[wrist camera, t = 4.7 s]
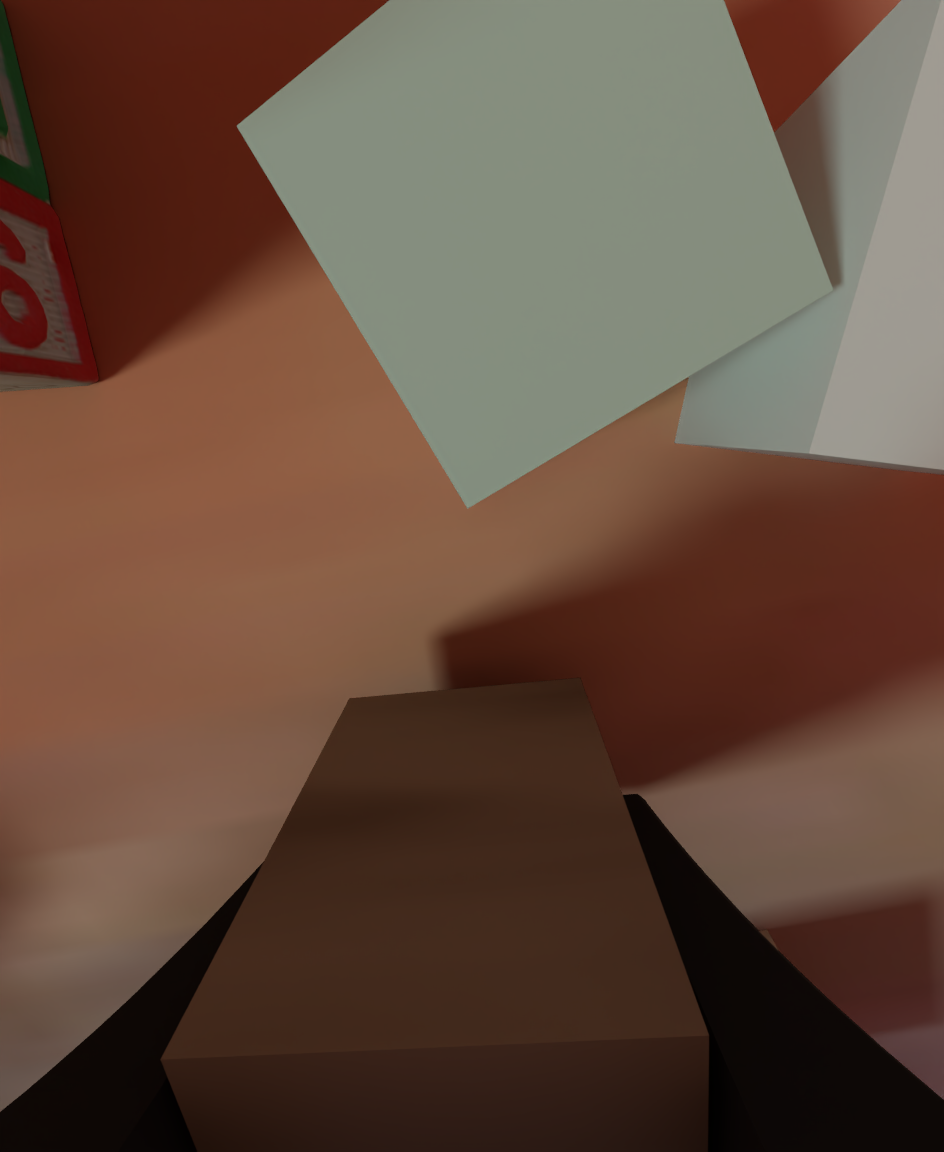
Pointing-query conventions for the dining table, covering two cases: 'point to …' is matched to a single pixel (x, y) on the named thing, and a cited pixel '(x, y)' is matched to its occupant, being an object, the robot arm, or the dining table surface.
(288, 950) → the walnut bar
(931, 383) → the white block
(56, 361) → the stack of blocks
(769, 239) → the sage block
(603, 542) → the dining table surface
